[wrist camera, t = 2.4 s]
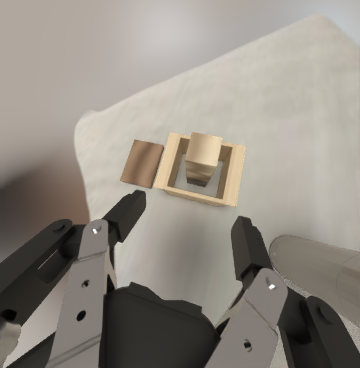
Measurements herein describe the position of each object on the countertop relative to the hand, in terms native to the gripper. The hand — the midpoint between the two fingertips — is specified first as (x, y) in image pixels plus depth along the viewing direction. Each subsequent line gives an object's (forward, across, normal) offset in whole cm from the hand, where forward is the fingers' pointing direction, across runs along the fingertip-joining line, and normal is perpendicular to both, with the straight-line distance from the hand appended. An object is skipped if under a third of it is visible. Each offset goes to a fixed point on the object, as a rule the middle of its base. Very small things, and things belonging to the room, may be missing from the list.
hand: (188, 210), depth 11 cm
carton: (+24, 0, +10) cm, 25 cm away
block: (+24, 0, +10) cm, 25 cm away
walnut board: (+24, +16, +10) cm, 30 cm away
